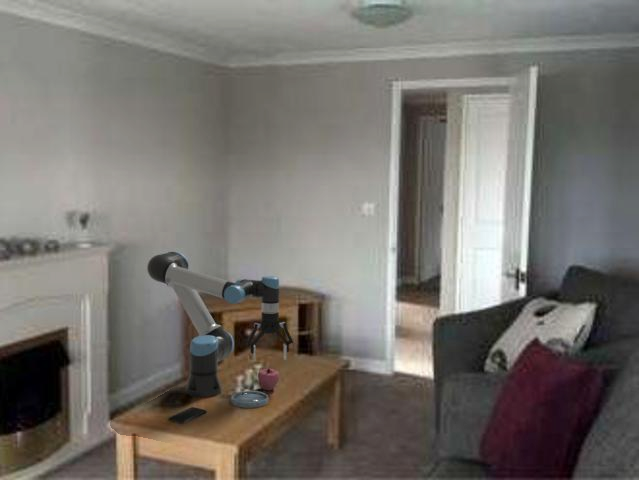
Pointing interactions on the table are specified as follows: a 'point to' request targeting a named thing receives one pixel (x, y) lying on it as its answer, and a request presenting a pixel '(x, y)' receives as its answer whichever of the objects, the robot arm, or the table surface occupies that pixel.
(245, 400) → the dish
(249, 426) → the table surface
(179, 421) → the phone
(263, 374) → the apple
